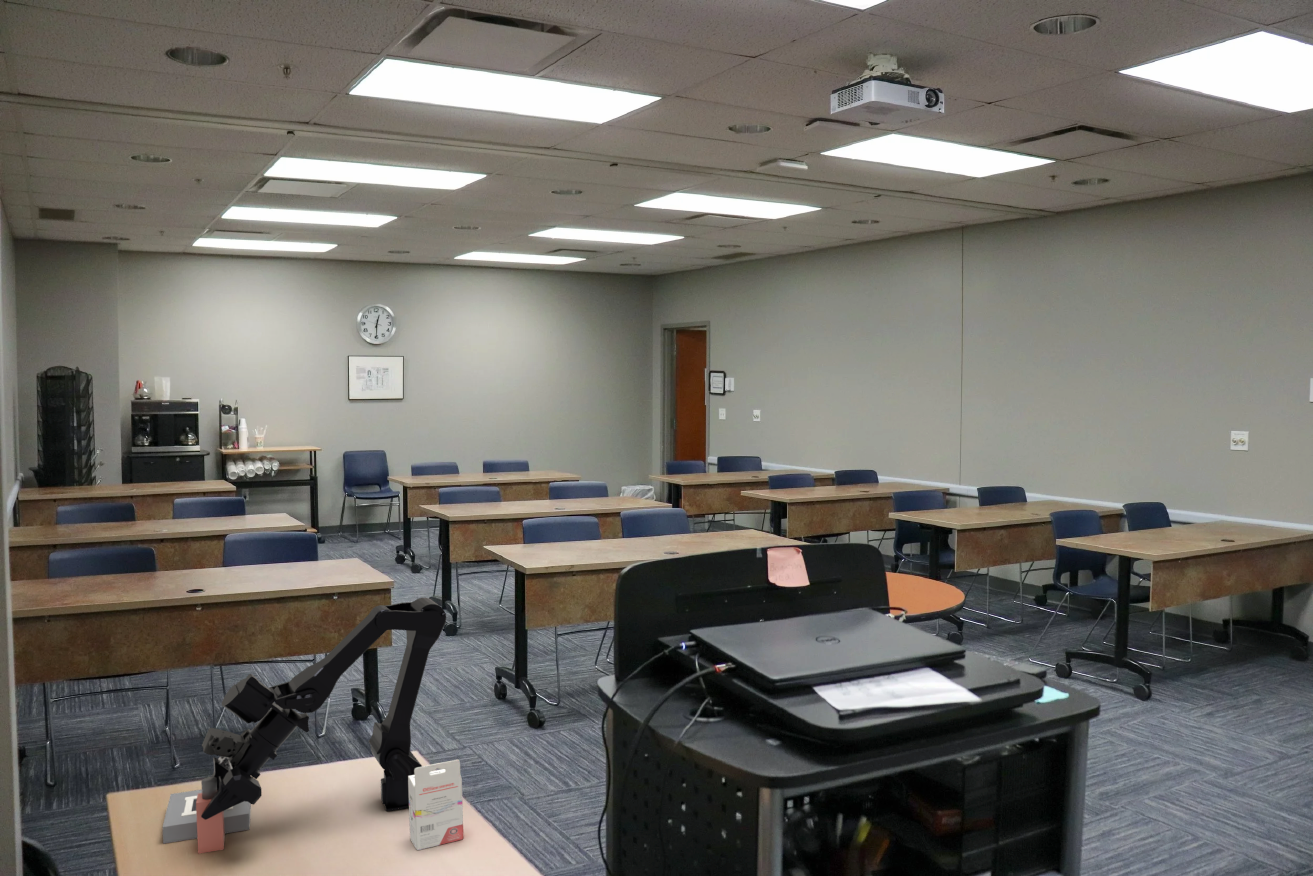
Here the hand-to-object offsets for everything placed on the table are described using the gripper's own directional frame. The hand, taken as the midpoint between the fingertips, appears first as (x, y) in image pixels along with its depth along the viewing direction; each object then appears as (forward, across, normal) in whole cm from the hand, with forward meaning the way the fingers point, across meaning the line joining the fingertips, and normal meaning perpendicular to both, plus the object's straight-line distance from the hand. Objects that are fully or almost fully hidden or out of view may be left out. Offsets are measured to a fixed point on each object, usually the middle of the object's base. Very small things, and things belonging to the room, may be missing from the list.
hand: (201, 811), depth 168 cm
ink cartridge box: (-21, +18, +30) cm, 41 cm away
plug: (+4, 0, +6) cm, 7 cm away
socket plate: (+3, -11, +6) cm, 13 cm away
